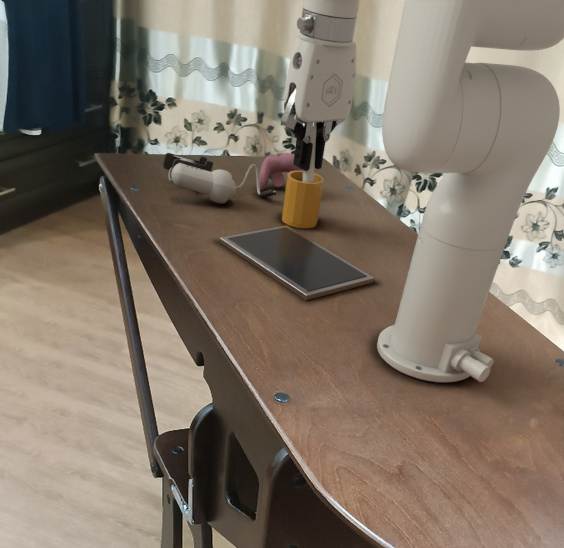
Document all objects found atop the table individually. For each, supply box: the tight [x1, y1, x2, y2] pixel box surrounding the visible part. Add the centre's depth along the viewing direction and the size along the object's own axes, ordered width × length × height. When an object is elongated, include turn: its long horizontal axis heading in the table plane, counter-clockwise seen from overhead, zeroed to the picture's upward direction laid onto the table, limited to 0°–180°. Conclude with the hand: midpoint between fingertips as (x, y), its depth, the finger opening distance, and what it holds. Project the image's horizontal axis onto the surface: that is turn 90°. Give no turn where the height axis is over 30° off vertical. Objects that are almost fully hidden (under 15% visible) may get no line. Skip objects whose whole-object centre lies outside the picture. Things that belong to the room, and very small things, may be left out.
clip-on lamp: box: [162, 152, 278, 205], centre depth 119 cm, size 12×6×18 cm
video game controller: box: [258, 152, 317, 192], centre depth 125 cm, size 10×5×7 cm, turn 84°
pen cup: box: [281, 171, 325, 229], centre depth 114 cm, size 6×6×7 cm
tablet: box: [219, 224, 375, 301], centre depth 104 cm, size 20×13×1 cm, turn 39°
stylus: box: [303, 125, 316, 183], centre depth 111 cm, size 2×2×11 cm
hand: (307, 166), depth 111 cm, fingers closed on stylus, 1 cm apart
